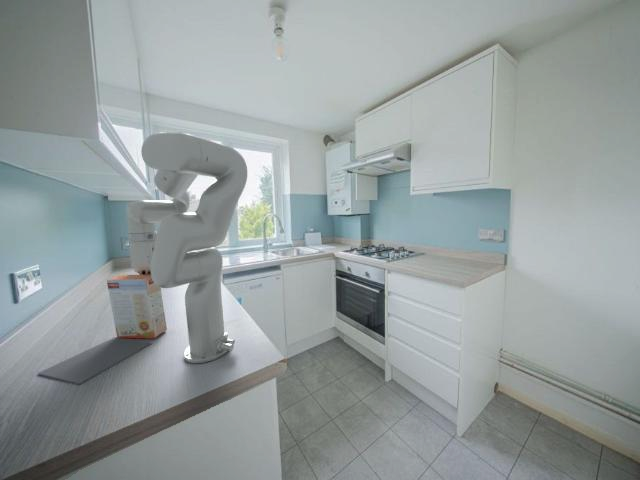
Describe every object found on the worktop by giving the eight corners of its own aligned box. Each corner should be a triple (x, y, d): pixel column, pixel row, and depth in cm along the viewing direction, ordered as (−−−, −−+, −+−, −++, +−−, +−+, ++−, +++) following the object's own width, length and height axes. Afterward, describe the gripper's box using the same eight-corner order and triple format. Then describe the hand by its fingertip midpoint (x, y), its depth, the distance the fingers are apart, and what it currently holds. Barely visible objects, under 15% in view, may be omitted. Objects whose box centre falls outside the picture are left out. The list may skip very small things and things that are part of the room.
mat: (151, 343, 72) (151, 342, 72) (79, 384, 55) (79, 383, 55) (115, 338, 76) (115, 337, 76) (38, 374, 59) (37, 373, 59)
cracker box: (168, 329, 81) (159, 273, 77) (154, 339, 75) (144, 279, 72) (132, 328, 82) (122, 273, 79) (116, 338, 76) (105, 279, 73)
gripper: (170, 236, 80) (175, 286, 82) (138, 237, 84) (144, 284, 86) (149, 239, 73) (155, 293, 75) (116, 239, 77) (122, 291, 79)
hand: (149, 288), depth 81 cm, fingers closed
